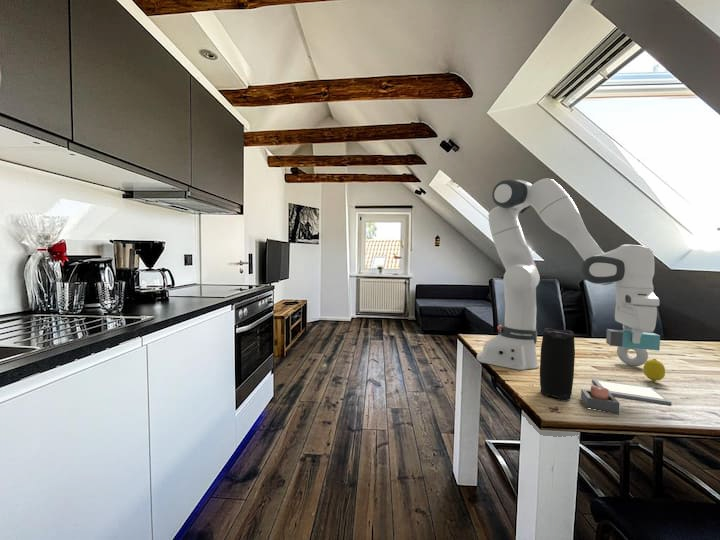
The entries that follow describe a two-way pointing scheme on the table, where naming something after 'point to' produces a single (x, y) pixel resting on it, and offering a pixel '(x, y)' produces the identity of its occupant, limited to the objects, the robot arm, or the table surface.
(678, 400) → the table surface
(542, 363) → the portable speaker
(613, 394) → the drawing board
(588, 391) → the button housing
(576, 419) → the table surface
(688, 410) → the table surface
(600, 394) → the button
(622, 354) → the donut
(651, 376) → the lemon
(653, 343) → the marker
